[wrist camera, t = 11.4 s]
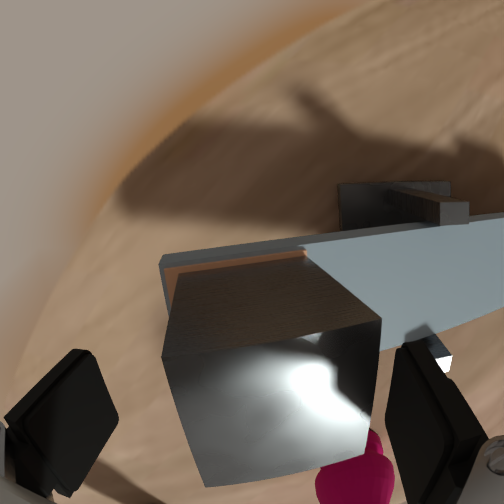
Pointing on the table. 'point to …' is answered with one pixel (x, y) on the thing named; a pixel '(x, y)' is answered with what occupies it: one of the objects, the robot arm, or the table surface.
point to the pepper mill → (358, 477)
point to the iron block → (270, 369)
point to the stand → (402, 218)
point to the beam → (387, 270)
